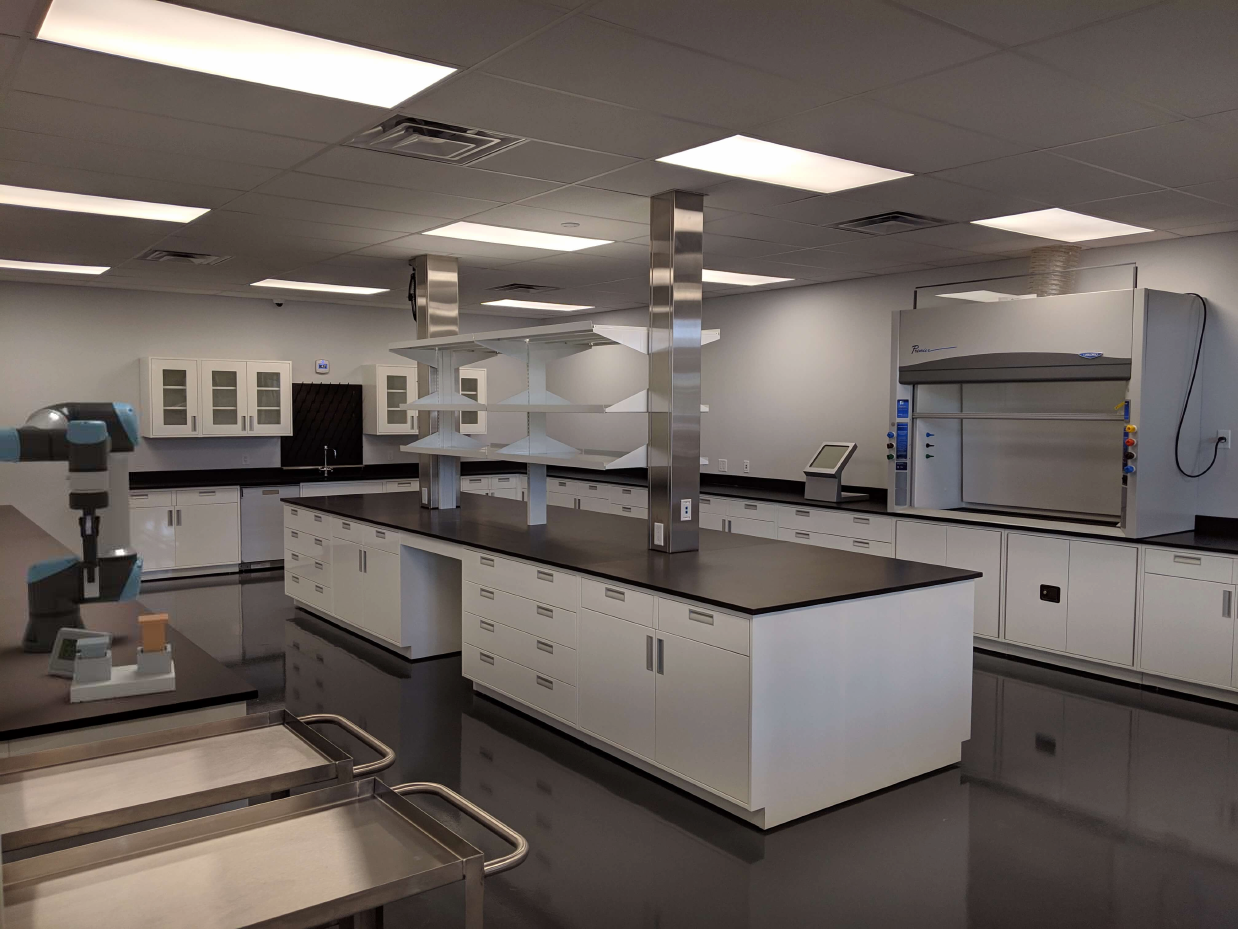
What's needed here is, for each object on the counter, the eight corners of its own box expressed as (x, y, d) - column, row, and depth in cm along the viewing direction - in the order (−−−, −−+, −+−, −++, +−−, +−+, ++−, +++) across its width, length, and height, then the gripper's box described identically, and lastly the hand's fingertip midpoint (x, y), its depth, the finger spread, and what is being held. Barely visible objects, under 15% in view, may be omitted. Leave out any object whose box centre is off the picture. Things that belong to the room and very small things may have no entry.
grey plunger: (78, 674, 200) (78, 639, 200) (109, 671, 203) (108, 636, 203) (77, 681, 195) (76, 645, 195) (108, 678, 198) (107, 642, 198)
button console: (75, 684, 204) (74, 649, 204) (173, 673, 214) (172, 639, 213) (70, 703, 191) (69, 666, 191) (175, 690, 200) (174, 654, 200)
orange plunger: (139, 650, 206) (138, 616, 205) (168, 647, 209) (167, 613, 208) (139, 656, 201) (138, 621, 200) (169, 653, 203) (168, 618, 203)
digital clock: (44, 675, 212) (42, 630, 211) (83, 666, 219) (82, 623, 219) (81, 685, 203) (80, 639, 203) (121, 676, 211) (120, 631, 211)
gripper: (71, 488, 201) (74, 592, 203) (66, 494, 190) (69, 604, 191) (109, 487, 205) (112, 589, 206) (107, 492, 193) (110, 600, 195)
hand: (91, 596), depth 199 cm, fingers closed
